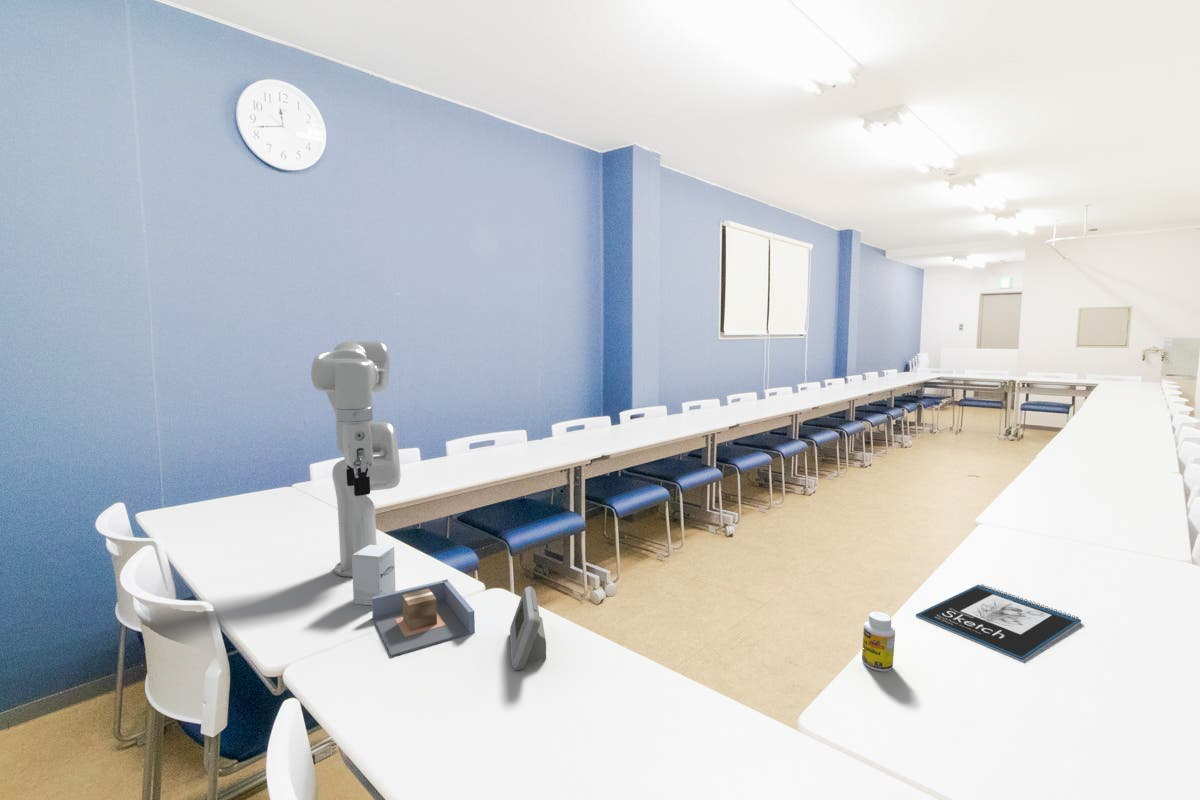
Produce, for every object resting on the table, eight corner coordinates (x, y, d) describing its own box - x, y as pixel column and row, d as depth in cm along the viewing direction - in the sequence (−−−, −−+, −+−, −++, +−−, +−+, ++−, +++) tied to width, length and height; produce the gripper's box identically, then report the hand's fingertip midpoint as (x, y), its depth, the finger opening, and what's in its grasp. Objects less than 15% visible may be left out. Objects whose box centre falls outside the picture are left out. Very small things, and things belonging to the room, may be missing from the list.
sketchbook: (915, 619, 130) (915, 611, 130) (979, 589, 146) (979, 582, 146) (1022, 664, 112) (1023, 654, 112) (1082, 624, 128) (1083, 616, 127)
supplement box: (380, 607, 135) (377, 556, 133) (352, 604, 136) (350, 554, 135) (396, 593, 142) (395, 545, 140) (370, 590, 143) (368, 543, 142)
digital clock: (511, 629, 124) (510, 584, 123) (551, 630, 124) (551, 584, 123) (497, 673, 108) (496, 621, 107) (543, 673, 108) (542, 621, 107)
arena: (372, 617, 129) (371, 597, 129) (447, 598, 139) (447, 579, 138) (391, 657, 113) (390, 633, 113) (474, 632, 123) (474, 610, 122)
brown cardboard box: (429, 613, 130) (428, 588, 130) (437, 623, 125) (436, 598, 125) (403, 619, 127) (402, 594, 126) (409, 631, 122) (408, 605, 121)
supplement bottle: (855, 660, 112) (858, 612, 111) (874, 654, 115) (877, 607, 114) (879, 675, 107) (882, 625, 106) (899, 668, 110) (902, 619, 108)
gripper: (380, 419, 120) (383, 496, 122) (365, 410, 134) (368, 479, 136) (342, 421, 116) (346, 501, 117) (331, 412, 130) (334, 483, 132)
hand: (358, 489), depth 127 cm, fingers open, 9 cm apart
